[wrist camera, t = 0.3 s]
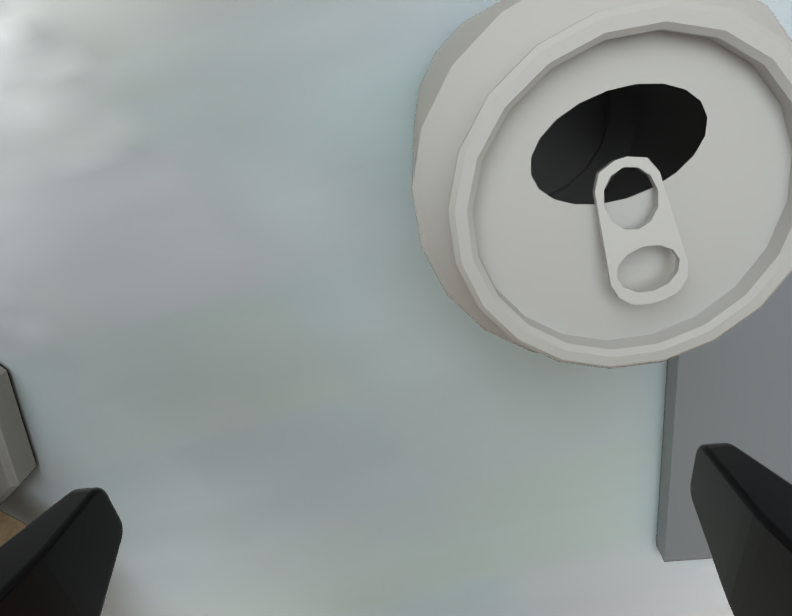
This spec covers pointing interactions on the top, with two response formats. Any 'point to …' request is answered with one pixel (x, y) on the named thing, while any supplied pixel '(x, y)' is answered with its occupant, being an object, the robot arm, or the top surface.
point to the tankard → (11, 455)
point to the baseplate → (726, 413)
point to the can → (608, 172)
